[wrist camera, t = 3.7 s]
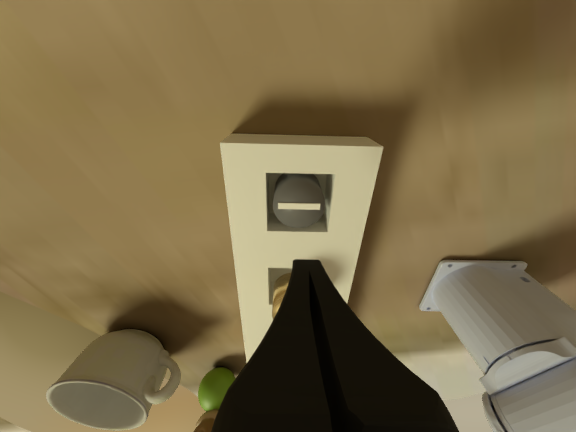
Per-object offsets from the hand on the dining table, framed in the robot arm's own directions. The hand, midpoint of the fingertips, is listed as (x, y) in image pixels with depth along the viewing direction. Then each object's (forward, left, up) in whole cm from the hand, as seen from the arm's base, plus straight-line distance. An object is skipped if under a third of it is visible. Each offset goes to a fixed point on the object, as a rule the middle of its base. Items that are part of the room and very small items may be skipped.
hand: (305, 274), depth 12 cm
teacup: (+20, +23, -11) cm, 33 cm away
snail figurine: (+10, +30, -11) cm, 34 cm away
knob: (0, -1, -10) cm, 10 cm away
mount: (0, +8, -10) cm, 13 cm away
